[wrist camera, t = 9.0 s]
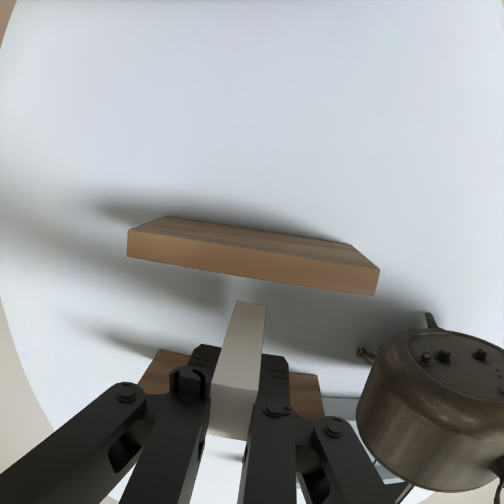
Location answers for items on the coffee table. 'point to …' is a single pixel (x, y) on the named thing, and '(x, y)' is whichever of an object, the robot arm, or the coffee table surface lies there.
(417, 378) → the alarm clock
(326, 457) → the robot arm
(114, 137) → the coffee table surface
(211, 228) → the channel
